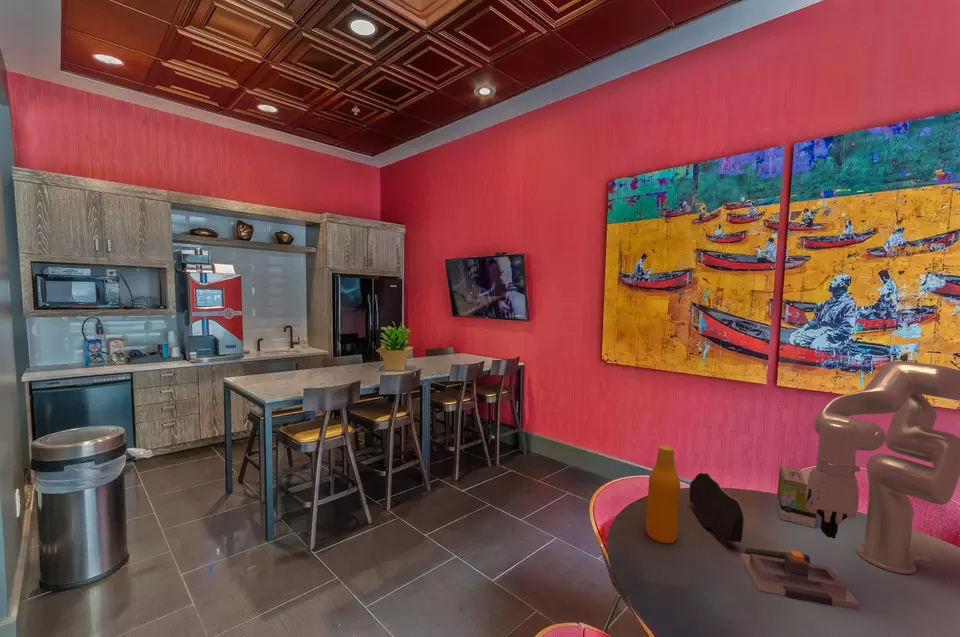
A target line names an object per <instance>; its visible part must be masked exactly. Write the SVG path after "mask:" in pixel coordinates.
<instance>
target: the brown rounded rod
mask: <svg viewBox="0 0 960 637" xmlns="http://www.w3.org/2000/svg"><path fill="white" fill-rule="evenodd" d="M744 550H745V554H756V555H761V556H767V557H773V558H779V559H784V557H785V553H788V554H790V552H785V551H779V550H768V549H760V548H751V547H746V548H745V549H744ZM801 554H802V553H801ZM802 555H803V556H804V559H805V561H806V562H807V563H810V561H811V559H810V555H808V554H802Z"/></svg>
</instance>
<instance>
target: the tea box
mask: <svg viewBox="0 0 960 637" xmlns="http://www.w3.org/2000/svg"><path fill="white" fill-rule="evenodd" d="M778 472H779V474H778V485H777V492H776V493H777V494H776V504H777V509H778V514H779V518H780V520H783V521H786V520H787V521H786V522H789V521H791V522H790V523H793V522H795V523H794V524H797V523H798V525H801V524H802V525H801V526H806V527H809V528H813V529H814V528H815V527H816V522H817V521H816V520H817V513H814V512H812V511H809V510H808V509H807V508H806V505H807V503H808V501H806V499H805V493H806V487H807V482H808V478H809V475H810V472H811V470H810V471H809V470H805V469H800V468H795V467H790V466H785V465H780V466H779V470H778Z"/></svg>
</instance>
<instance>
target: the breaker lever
mask: <svg viewBox="0 0 960 637" xmlns="http://www.w3.org/2000/svg"><path fill="white" fill-rule="evenodd" d="M788 553H790V554H788ZM808 563H809V562H806V561H805V559H804V556H803V555H802V552H800V551H796V550H789V552H787V553H785V557H784V571H785V572H786V573H791V574H797V575H802V576H808V571H809V564H810V563H809V564H808Z"/></svg>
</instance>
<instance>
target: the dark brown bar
mask: <svg viewBox="0 0 960 637" xmlns="http://www.w3.org/2000/svg"><path fill="white" fill-rule="evenodd" d="M783 587H784V588H785V590H786V594H785V597H787V598H789V599H790V598H791V599H794V600H796V599H797V600H801V601H806V602H811V603H816V604H822V605H828V606H832V597H831V596H830V595H829V594H827V593H822V592H816V591H811V590H806V589H800V588H795V587H789V586H784V585H783Z"/></svg>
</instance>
